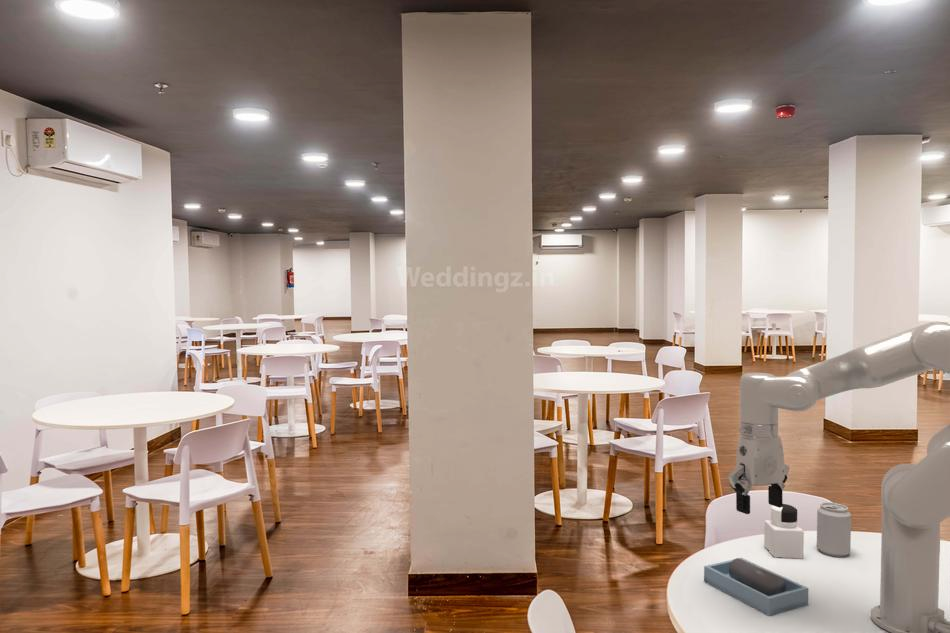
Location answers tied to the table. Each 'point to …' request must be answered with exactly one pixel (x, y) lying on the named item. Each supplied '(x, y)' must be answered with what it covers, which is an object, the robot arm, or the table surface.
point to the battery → (756, 577)
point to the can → (833, 529)
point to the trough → (766, 604)
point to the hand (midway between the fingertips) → (759, 509)
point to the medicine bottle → (784, 533)
